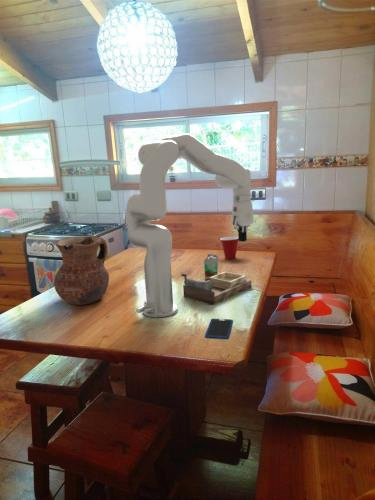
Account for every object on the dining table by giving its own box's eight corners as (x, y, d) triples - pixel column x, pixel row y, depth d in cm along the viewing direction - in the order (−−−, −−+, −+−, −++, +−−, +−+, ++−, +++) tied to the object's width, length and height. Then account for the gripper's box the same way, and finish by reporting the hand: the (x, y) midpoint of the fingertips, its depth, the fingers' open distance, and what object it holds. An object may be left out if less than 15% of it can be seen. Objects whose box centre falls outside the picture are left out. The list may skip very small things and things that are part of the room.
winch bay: (211, 305, 133) (210, 281, 131) (180, 297, 144) (179, 274, 142) (251, 287, 152) (251, 265, 150) (221, 280, 163) (221, 260, 161)
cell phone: (233, 321, 120) (233, 319, 119) (228, 340, 106) (228, 338, 106) (211, 320, 121) (211, 318, 121) (204, 338, 108) (204, 336, 108)
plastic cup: (229, 254, 212) (228, 234, 209) (243, 257, 204) (243, 236, 201) (216, 258, 205) (215, 237, 202) (230, 261, 197) (230, 239, 194)
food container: (218, 281, 162) (217, 259, 160) (204, 281, 164) (203, 259, 161) (221, 273, 174) (220, 253, 172) (208, 273, 175) (207, 253, 173)
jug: (89, 311, 133) (82, 245, 128) (44, 306, 140) (36, 244, 135) (120, 292, 153) (115, 234, 148) (79, 288, 160) (73, 233, 155)
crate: (230, 290, 145) (230, 282, 144) (209, 285, 152) (209, 277, 151) (246, 283, 153) (246, 275, 152) (225, 279, 160) (225, 271, 159)
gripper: (238, 200, 145) (239, 245, 149) (258, 197, 155) (259, 238, 159) (224, 200, 150) (225, 243, 154) (244, 197, 160) (245, 237, 164)
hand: (242, 240), depth 157 cm, fingers closed
